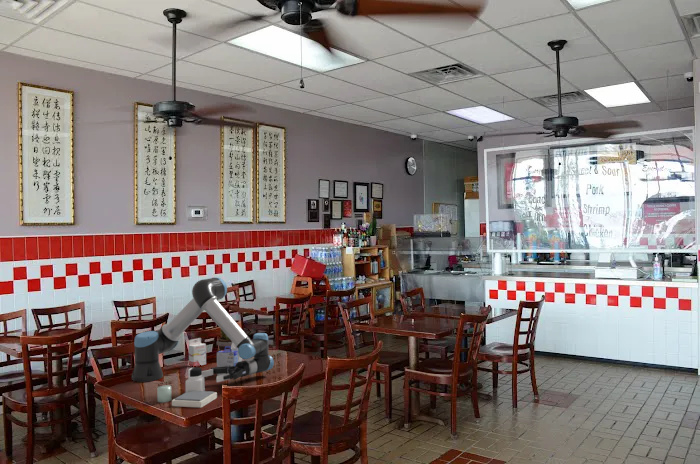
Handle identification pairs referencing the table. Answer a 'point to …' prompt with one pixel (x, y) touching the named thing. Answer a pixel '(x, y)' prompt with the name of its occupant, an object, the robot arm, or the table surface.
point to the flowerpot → (223, 341)
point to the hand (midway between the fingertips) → (208, 376)
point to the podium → (194, 399)
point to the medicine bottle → (195, 380)
